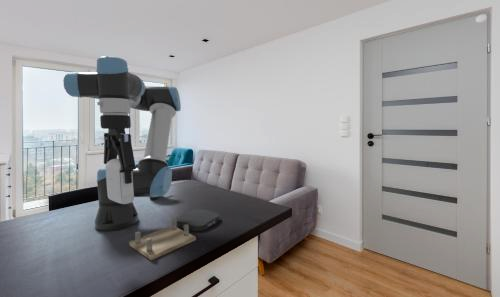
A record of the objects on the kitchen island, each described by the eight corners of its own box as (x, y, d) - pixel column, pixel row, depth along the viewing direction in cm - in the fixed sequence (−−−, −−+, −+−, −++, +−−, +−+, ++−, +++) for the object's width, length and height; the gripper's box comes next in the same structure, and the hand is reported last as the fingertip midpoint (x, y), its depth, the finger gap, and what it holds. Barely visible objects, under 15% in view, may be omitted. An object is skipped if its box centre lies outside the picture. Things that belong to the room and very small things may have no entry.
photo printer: (105, 198, 73) (102, 158, 71) (120, 195, 76) (117, 156, 75) (120, 206, 66) (118, 161, 65) (136, 202, 70) (134, 159, 68)
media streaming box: (195, 213, 107) (195, 207, 107) (223, 219, 100) (222, 212, 100) (170, 226, 94) (170, 218, 94) (200, 233, 87) (200, 225, 87)
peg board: (129, 245, 79) (128, 231, 78) (172, 228, 91) (172, 216, 90) (150, 260, 70) (150, 244, 69) (196, 240, 82) (195, 226, 81)
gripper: (88, 115, 73) (93, 186, 76) (116, 113, 58) (121, 202, 61) (115, 115, 79) (119, 182, 81) (146, 113, 64) (150, 195, 66)
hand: (120, 190), depth 71 cm, fingers closed on photo printer, 10 cm apart
